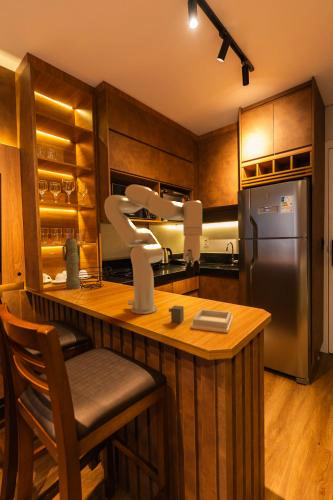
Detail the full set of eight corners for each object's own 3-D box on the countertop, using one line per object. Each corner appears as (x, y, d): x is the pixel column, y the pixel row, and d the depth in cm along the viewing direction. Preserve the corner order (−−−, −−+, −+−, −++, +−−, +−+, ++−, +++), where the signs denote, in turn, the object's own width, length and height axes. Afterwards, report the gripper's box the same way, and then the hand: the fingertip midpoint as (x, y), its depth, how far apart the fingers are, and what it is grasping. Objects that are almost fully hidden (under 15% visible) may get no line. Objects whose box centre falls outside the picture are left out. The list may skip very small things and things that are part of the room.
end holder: (190, 328, 91) (190, 320, 91) (200, 314, 106) (200, 308, 106) (227, 332, 86) (227, 324, 86) (233, 318, 101) (233, 311, 101)
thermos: (84, 287, 170) (82, 237, 168) (69, 290, 161) (66, 238, 158) (77, 285, 175) (74, 238, 173) (62, 288, 166) (59, 238, 163)
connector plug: (167, 322, 98) (167, 308, 98) (171, 319, 102) (170, 305, 101) (180, 323, 96) (180, 309, 96) (183, 320, 100) (183, 306, 99)
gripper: (189, 232, 105) (189, 270, 107) (177, 232, 89) (177, 277, 91) (206, 232, 103) (206, 271, 104) (197, 232, 87) (197, 278, 88)
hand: (192, 274), depth 97 cm, fingers open, 9 cm apart
